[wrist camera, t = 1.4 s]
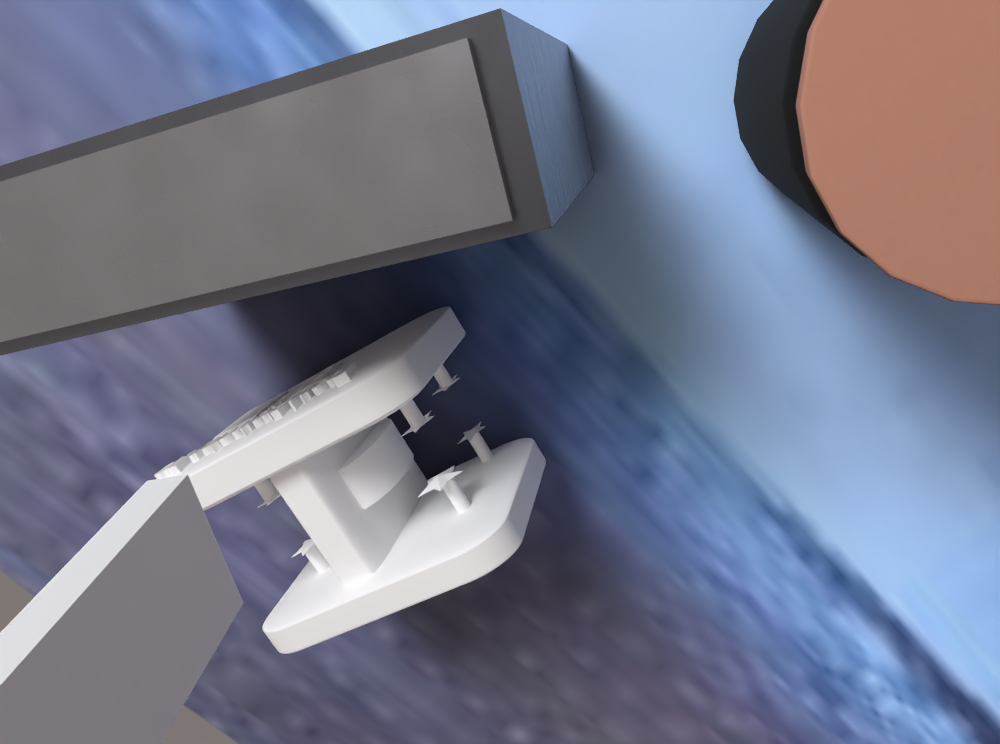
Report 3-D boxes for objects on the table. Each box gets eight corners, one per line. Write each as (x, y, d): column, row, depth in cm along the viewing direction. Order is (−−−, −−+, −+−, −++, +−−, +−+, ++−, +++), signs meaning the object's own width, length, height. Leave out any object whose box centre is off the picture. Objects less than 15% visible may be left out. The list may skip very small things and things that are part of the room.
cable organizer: (345, 542, 47) (253, 674, 37) (248, 401, 45) (120, 497, 34) (554, 448, 42) (519, 568, 32) (456, 284, 40) (383, 353, 30)
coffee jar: (775, 243, 36) (873, 369, 20) (697, 22, 34) (734, -46, 17) (1021, 148, 33) (1386, 204, 17) (955, -104, 31) (1307, -338, 14)
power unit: (596, 182, 37) (553, 243, 22) (211, 276, 43) (-34, 375, 28) (566, 44, 35) (497, 6, 20) (168, 161, 41) (-119, 201, 26)
